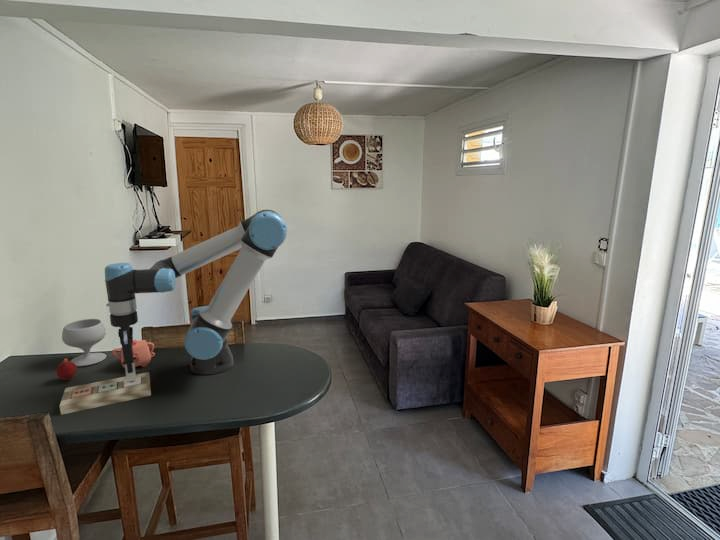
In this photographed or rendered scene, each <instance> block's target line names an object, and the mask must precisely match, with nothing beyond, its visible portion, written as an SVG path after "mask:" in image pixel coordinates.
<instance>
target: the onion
mask: <svg viewBox="0 0 720 540" xmlns="http://www.w3.org/2000/svg"><path fill="white" fill-rule="evenodd" d="M77 373H78V366H76V365H75V364H74V363H73V362H71V360H69V358H67V357H66V358H64V359H63V361H61V363H59V364H58V366H57V367H56V375H57V377H58V378H59V379H60V380H65V381H70V380H71V379H72V378H73V377H75V375H76V374H77Z"/></svg>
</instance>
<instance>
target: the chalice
mask: <svg viewBox="0 0 720 540" xmlns="http://www.w3.org/2000/svg"><path fill="white" fill-rule="evenodd" d="M106 335H107V331H106V327H105V325H104V323H103V321H102V320H101V319H97V318H86V319H85V318H83V319H79V320H75V321H72V322H68V323H67V324H65V325H64V327H63V330H62V332H61V339H62V342H63V344H65V345H67V346H68V347H72V348H78V349H81V350H82V351H83V352H84V354H82V355H79V356H76V357H73V359H71V360H70V361H71V362H73V363H74V364H75V365H76V366H77V367H85V366H90V365H95V364H98V363H100V362H102V361H104V360H105V359H106V358H107V354H106V353H104V352H91V349H92V348H93V346H95V345H97V344H98V343H99V342H101V341H102V340H103V339H104V338H105V336H106Z"/></svg>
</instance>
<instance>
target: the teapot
mask: <svg viewBox="0 0 720 540" xmlns="http://www.w3.org/2000/svg"><path fill="white" fill-rule="evenodd" d="M149 345H151V349H150V347H149ZM132 347H133V353H134V355H133V357H136V359H135V360H134V364H135V368H136V367H139V366H141V367H142V368H146V367H148V364H150V363H151V361H152V358H153V357H155V356H156V354H155V352H154V349H155V344H154V343H153V342H151V341H150V342H149V341H147V339H141V340H137V339H133V343H132ZM118 351H120V355H119V354H118V353H117V352H118ZM111 354H112V355H113V356H114V357H116V358H118V359H119V360H120V363H121V366H122V368H123V369H125V364H123V365H122V362H124V357H123V350H122V347H118V348H113V349H112V350H111Z"/></svg>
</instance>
